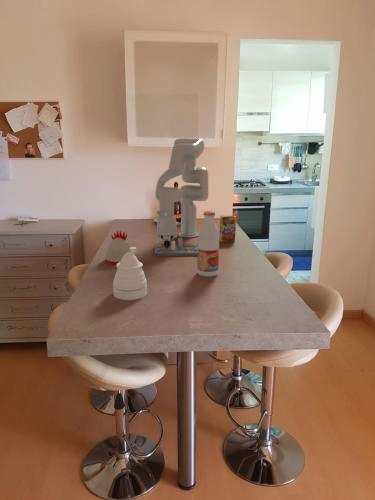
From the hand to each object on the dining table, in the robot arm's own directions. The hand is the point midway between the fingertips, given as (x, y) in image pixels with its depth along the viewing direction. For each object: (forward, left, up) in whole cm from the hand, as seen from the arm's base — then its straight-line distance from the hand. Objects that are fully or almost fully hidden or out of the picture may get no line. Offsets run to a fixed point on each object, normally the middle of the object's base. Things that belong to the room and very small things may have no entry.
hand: (166, 247), depth 204 cm
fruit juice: (+34, +17, -3) cm, 38 cm away
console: (-2, +5, -3) cm, 7 cm away
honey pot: (+56, -16, -3) cm, 58 cm away
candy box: (-24, +36, -3) cm, 44 cm away
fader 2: (-7, +7, -1) cm, 10 cm away
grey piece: (+13, -24, -3) cm, 27 cm away
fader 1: (0, +3, -1) cm, 4 cm away
